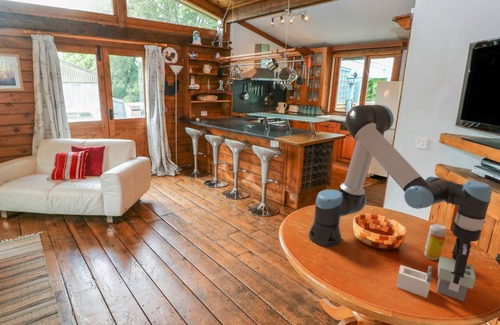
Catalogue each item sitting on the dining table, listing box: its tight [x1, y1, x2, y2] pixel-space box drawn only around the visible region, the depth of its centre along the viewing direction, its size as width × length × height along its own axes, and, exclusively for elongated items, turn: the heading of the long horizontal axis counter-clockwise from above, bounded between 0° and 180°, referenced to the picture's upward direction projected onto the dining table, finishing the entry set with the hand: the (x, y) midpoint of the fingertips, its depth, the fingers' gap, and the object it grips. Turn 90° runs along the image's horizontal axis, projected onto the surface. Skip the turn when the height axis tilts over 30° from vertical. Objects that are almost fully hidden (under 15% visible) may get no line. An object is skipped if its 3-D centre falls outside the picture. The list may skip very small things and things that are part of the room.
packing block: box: [436, 278, 468, 302], centre depth 104 cm, size 8×5×7 cm, turn 57°
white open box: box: [395, 264, 433, 299], centre depth 105 cm, size 10×6×10 cm, turn 57°
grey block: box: [437, 255, 476, 290], centre depth 102 cm, size 10×9×4 cm
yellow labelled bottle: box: [423, 223, 447, 261], centre depth 125 cm, size 6×6×15 cm
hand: (452, 282), depth 103 cm, fingers closed on grey block, 9 cm apart
